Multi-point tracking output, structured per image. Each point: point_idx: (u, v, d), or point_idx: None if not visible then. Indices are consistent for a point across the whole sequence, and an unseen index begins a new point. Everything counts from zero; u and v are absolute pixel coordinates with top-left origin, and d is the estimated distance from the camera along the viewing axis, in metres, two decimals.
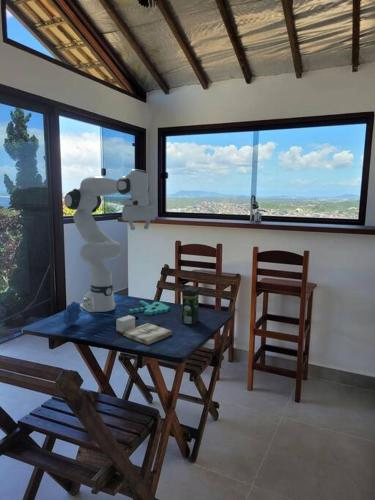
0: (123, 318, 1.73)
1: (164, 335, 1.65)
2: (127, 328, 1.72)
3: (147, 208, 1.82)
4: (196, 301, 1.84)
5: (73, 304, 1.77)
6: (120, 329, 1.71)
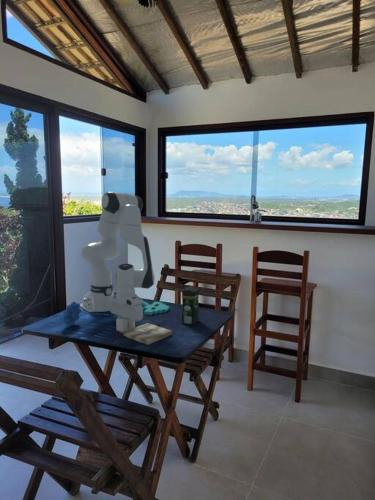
0: (123, 318, 1.73)
1: (164, 335, 1.65)
2: (127, 328, 1.72)
3: None
4: (196, 301, 1.84)
5: (73, 304, 1.77)
6: (120, 329, 1.71)
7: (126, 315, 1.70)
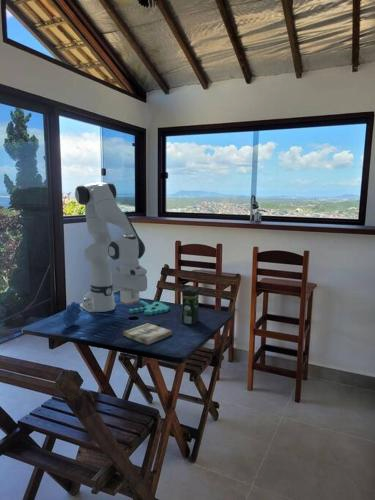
0: (127, 289, 1.70)
1: (164, 335, 1.65)
2: (131, 299, 1.69)
3: None
4: (196, 301, 1.84)
5: (73, 304, 1.77)
6: (124, 301, 1.67)
7: (130, 286, 1.67)
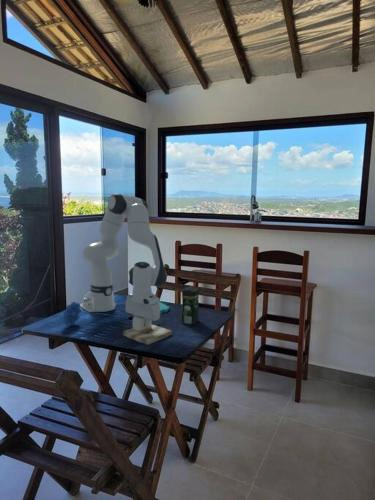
0: (139, 317, 1.69)
1: (164, 335, 1.65)
2: (144, 327, 1.68)
3: None
4: (196, 301, 1.84)
5: (73, 304, 1.77)
6: (137, 328, 1.67)
7: (143, 314, 1.66)
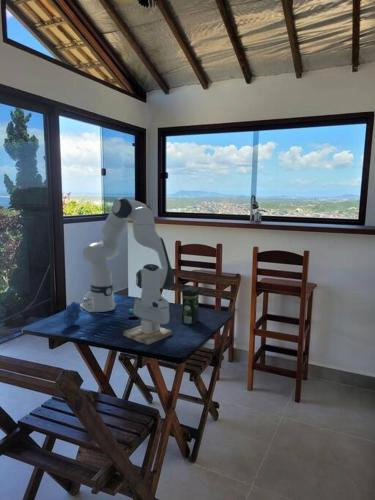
0: None
1: (164, 335, 1.65)
2: (152, 330, 1.64)
3: None
4: (196, 301, 1.84)
5: (73, 304, 1.77)
6: (145, 332, 1.63)
7: (151, 318, 1.63)
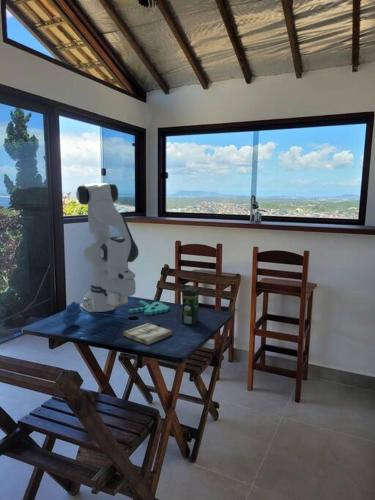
0: (115, 292, 1.66)
1: (164, 335, 1.65)
2: (119, 302, 1.65)
3: None
4: (196, 301, 1.84)
5: (73, 304, 1.77)
6: (112, 303, 1.63)
7: (118, 290, 1.63)
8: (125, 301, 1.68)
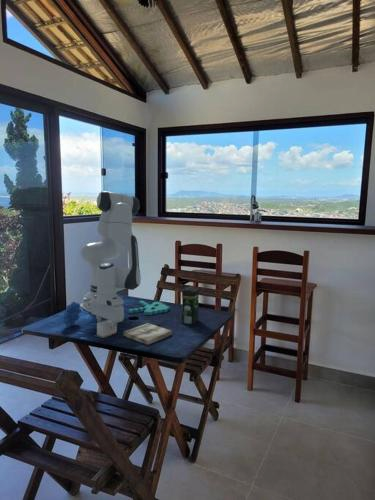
0: (104, 322, 1.67)
1: (164, 335, 1.65)
2: (108, 332, 1.66)
3: None
4: (196, 301, 1.84)
5: (73, 304, 1.77)
6: (101, 334, 1.64)
7: (106, 316, 1.64)
8: (114, 331, 1.69)
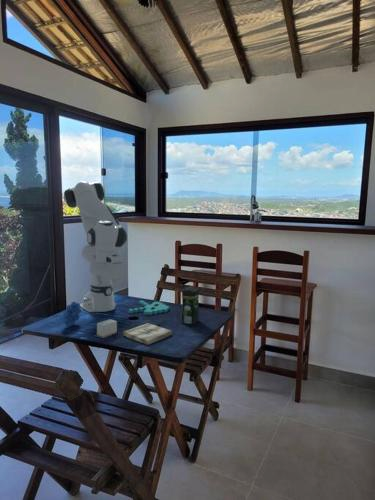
0: (104, 322, 1.67)
1: (164, 335, 1.65)
2: (108, 332, 1.66)
3: None
4: (196, 301, 1.84)
5: (73, 304, 1.77)
6: (101, 334, 1.64)
7: (106, 274, 1.61)
8: (114, 331, 1.69)
